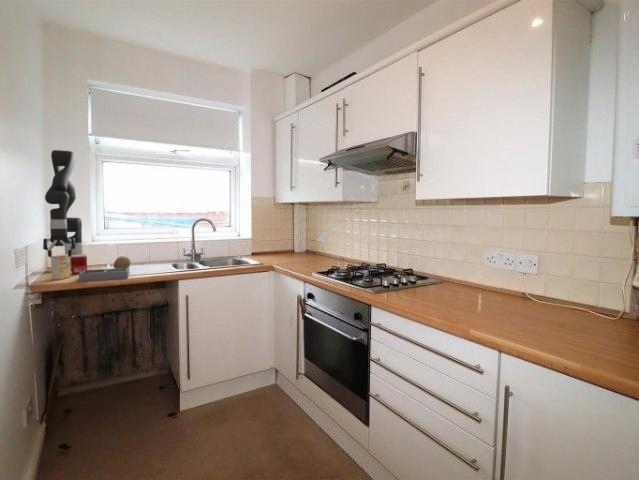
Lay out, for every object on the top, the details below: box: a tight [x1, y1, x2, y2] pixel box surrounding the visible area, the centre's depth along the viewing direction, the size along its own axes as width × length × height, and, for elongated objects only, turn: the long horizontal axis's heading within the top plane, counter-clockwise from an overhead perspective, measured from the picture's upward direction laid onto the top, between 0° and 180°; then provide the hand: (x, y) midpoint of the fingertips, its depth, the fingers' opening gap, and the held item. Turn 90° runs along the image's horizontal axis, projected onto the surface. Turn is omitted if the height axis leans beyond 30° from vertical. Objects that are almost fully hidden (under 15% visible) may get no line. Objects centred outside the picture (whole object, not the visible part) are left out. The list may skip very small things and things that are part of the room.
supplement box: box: [50, 254, 71, 281], centre depth 195 cm, size 8×5×13 cm, turn 179°
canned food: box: [70, 254, 88, 276], centre depth 212 cm, size 8×8×11 cm
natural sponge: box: [113, 256, 131, 269], centre depth 217 cm, size 9×9×10 cm
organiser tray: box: [78, 267, 130, 282], centre depth 199 cm, size 13×23×4 cm, turn 115°
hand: (60, 257), depth 195 cm, fingers open, 8 cm apart
